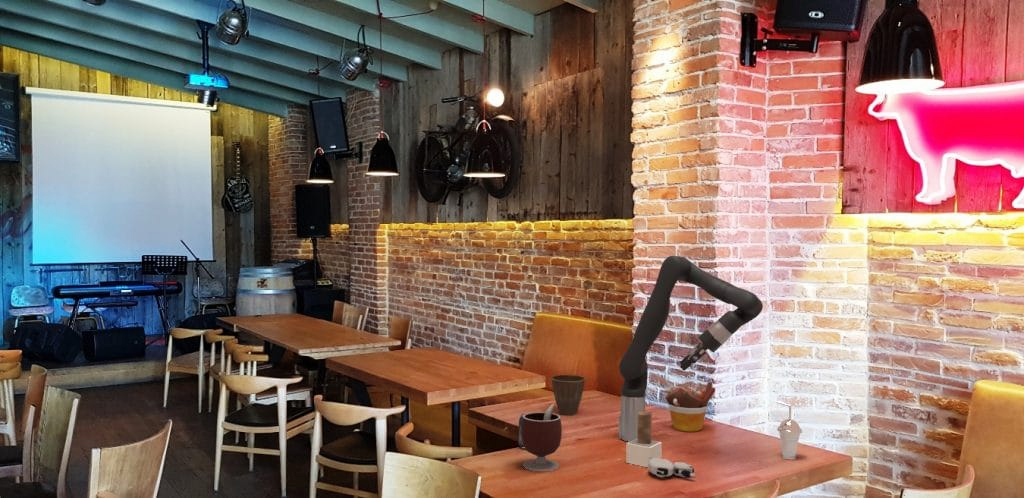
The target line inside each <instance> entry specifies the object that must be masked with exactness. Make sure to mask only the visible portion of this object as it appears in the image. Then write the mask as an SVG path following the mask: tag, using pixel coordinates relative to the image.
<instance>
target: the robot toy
mask: <svg viewBox="0 0 1024 498" xmlns="http://www.w3.org/2000/svg"><path fill="white" fill-rule="evenodd" d="M649 458H650V459H651V460H649V463H648V468H647V469H648V471H649V472H650V473H651V474H653V475H656V477H658V478H659V477H660V478H661V479H663V478H665V477H671V476H673V474H674V476H678V477H680V478H683V479H684V478H686V477H687V478H691V477H696V474H695V469H694V468H693V466H692V465H691V464H689V463H687V462H677V461H675V462H671V460H668V459H666V458H661V459H660V458H651V457H649ZM660 478H659V479H660Z"/></svg>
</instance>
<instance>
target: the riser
mask: <svg viewBox="0 0 1024 498" xmlns="http://www.w3.org/2000/svg"><path fill="white" fill-rule="evenodd" d="M662 443H663V442H661V441H657V440H652V439H651V444H641V443H638V438H637V439H635V440H633V441H631V442H626V443H625V444H626V448H625V449H626V450H625V451H626V452H625V453H626V454H625V455H626V456H625V461H626V462H627V463H631V464H630V465H632V464H635V465H634V466H636V465H640V466H639V467H641V466H644V467H643V468H645V467H648V463H649V460H651V459H650V458H649V457H651V458H660V459H663V458H662V457H663V456H662V451H663V450H662V447H663V444H662ZM626 462H625V463H626ZM627 463H626V464H627Z"/></svg>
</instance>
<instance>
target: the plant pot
mask: <svg viewBox="0 0 1024 498" xmlns="http://www.w3.org/2000/svg"><path fill="white" fill-rule="evenodd" d="M585 382H586V378H585V377H584V376H580V375H576V374H575V375H573V374H558V375H554V376H552V377H551V385H552V391H553V395H554V399H555V405H556V407H557V409H558V413H559V414H560V415H562V414H563V415H562V416H574V414H575V415H577V413H578V410H579V407H580V404H581V401H582V397H583V393H584V388H585Z"/></svg>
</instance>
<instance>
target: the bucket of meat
mask: <svg viewBox="0 0 1024 498" xmlns="http://www.w3.org/2000/svg"><path fill="white" fill-rule="evenodd" d="M715 392H716V389H715V387H713V383H712V381H707V384H706V388H705V391H704V390H702V391H701V390H698V391H697V389H696V388H695V387H694V388H691V389H689V390H687V389H686V388H684V387H682V386H679V385H678V386H677V385H670V386H669V388H668V387H667V388H665V389H664V393H667V395H666V396H665V397H664V398H665V400H666V402H667V403H668V404H667V405H668V409H669V413H670V417H671V423H672V427H673V428H674V429H675V430H676V431H679V432H684V433H696V432H699V431H700V430H702V429H703V425H704V422H705V418H706V414H707V410H708V403H709V402H710V399H711V398H712V396H713V395H714V393H715Z"/></svg>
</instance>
